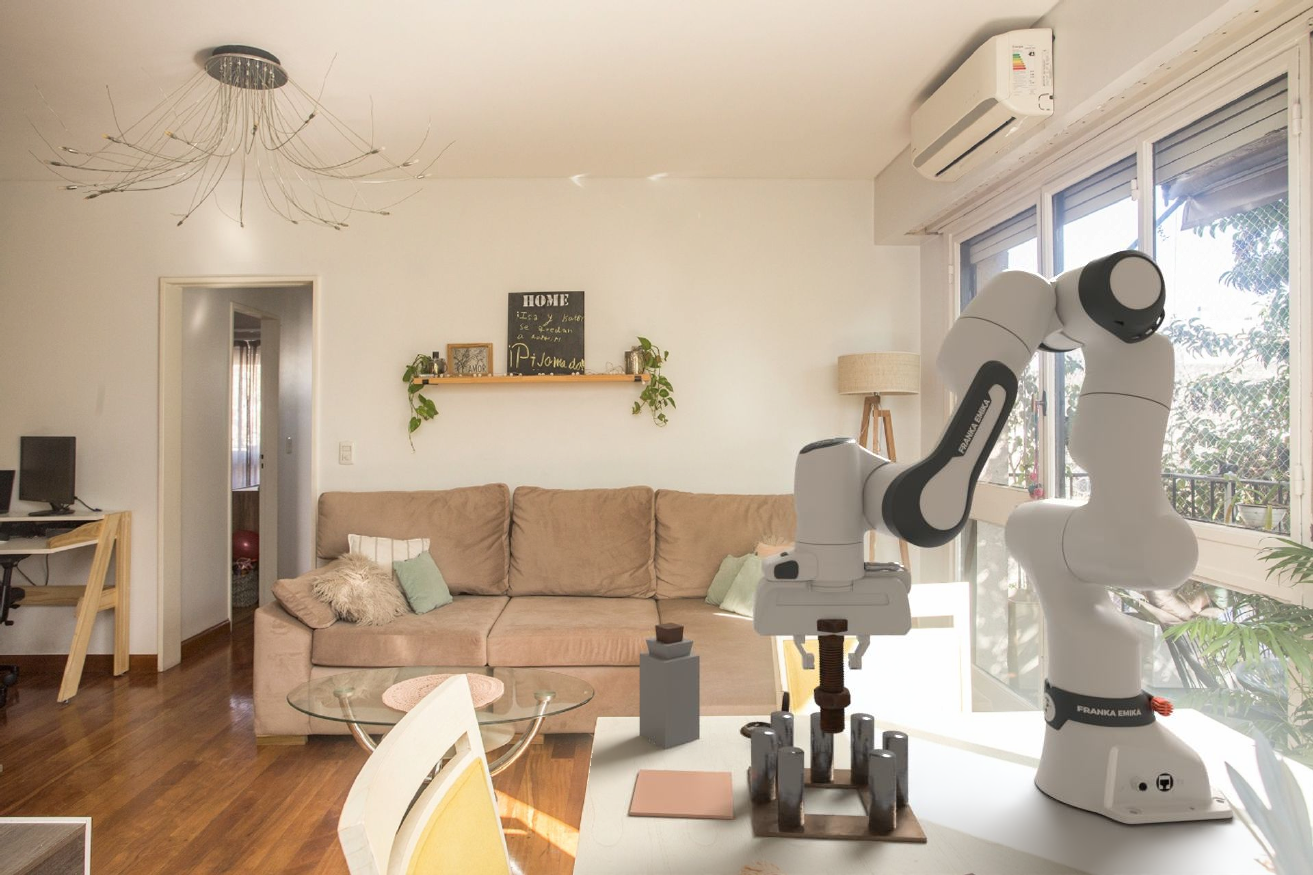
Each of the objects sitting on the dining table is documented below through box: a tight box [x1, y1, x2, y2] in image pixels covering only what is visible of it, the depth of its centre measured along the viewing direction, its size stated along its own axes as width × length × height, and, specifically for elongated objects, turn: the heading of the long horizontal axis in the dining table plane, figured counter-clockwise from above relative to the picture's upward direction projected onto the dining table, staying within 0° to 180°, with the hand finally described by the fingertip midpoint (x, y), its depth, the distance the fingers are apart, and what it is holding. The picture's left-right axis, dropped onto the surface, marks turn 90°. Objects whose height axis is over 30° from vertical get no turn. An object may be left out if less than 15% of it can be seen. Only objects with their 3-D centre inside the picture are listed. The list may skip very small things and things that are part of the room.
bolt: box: [813, 619, 852, 735], centre depth 103 cm, size 6×5×15 cm
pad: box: [629, 769, 734, 820], centre depth 105 cm, size 13×13×1 cm
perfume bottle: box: [639, 622, 701, 750], centre depth 124 cm, size 7×7×18 cm
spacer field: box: [748, 710, 928, 843], centre depth 103 cm, size 20×19×9 cm
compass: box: [739, 690, 791, 739], centre depth 125 cm, size 8×8×7 cm
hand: (831, 668), depth 103 cm, fingers closed on bolt, 5 cm apart
